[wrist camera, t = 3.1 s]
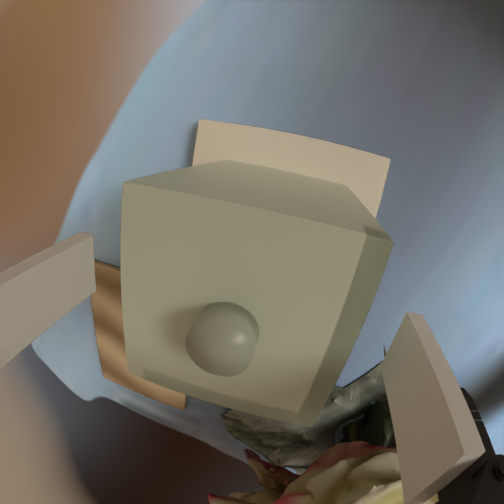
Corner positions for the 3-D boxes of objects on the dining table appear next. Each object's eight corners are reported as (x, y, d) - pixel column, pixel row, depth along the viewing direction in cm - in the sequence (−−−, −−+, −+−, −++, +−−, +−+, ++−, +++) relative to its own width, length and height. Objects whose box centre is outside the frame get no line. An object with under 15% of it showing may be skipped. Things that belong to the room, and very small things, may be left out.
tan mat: (91, 258, 26) (88, 260, 25) (194, 290, 25) (191, 293, 24) (106, 374, 32) (103, 377, 31) (186, 407, 30) (184, 410, 30)
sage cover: (228, 159, 19) (98, 188, 7) (346, 185, 18) (405, 257, 6) (211, 267, 22) (114, 390, 10) (317, 293, 21) (310, 449, 9)
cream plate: (204, 120, 20) (185, 116, 17) (386, 158, 18) (400, 160, 15) (184, 282, 25) (166, 301, 21) (338, 320, 23) (340, 346, 20)
